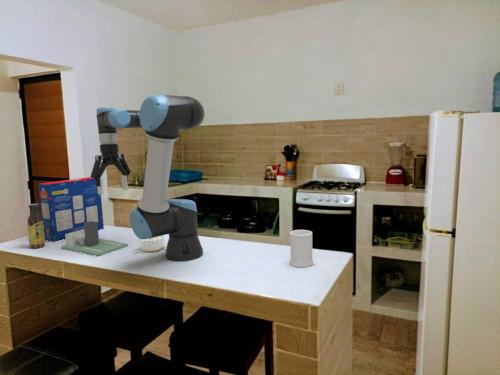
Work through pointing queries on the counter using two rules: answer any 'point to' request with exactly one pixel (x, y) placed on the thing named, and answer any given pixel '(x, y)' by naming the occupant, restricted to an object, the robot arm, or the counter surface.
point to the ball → (80, 237)
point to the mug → (301, 248)
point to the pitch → (96, 249)
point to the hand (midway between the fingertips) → (113, 191)
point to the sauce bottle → (35, 227)
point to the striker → (90, 234)
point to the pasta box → (69, 206)
